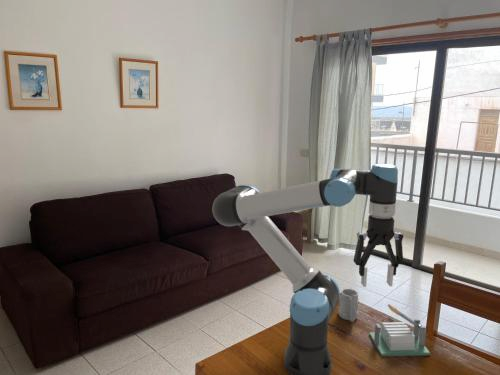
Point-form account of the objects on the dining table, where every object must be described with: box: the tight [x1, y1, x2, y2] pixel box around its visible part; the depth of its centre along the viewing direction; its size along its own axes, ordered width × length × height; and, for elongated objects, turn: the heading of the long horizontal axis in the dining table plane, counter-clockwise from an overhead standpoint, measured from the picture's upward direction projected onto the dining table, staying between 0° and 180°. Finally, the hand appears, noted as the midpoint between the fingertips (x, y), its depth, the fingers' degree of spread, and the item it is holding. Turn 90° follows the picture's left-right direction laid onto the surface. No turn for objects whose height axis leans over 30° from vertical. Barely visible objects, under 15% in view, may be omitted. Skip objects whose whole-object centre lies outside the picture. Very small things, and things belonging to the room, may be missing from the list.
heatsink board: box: [368, 318, 431, 357], centre depth 131 cm, size 16×12×8 cm
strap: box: [387, 303, 423, 331], centre depth 130 cm, size 14×3×2 cm
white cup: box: [338, 288, 360, 323], centre depth 147 cm, size 8×12×12 cm, turn 179°
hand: (376, 284), depth 121 cm, fingers open, 8 cm apart
